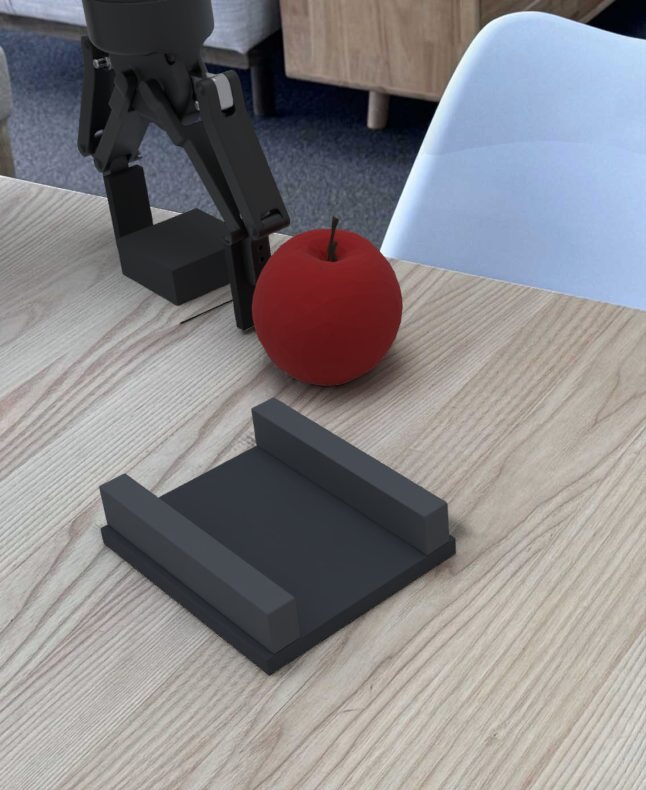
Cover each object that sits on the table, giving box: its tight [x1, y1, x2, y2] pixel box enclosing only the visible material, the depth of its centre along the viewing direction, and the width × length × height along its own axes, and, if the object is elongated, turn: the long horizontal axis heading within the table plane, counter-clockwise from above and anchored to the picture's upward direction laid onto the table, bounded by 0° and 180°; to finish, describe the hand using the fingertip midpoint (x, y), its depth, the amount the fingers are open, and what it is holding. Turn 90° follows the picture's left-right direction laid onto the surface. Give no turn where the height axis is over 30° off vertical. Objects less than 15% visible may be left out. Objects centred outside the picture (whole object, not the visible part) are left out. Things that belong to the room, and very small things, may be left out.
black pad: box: [115, 207, 233, 325], centre depth 94 cm, size 6×6×4 cm
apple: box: [252, 215, 404, 387], centre depth 84 cm, size 9×9×10 cm
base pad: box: [98, 397, 457, 676], centre depth 71 cm, size 14×12×4 cm
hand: (195, 288), depth 95 cm, fingers open, 13 cm apart
